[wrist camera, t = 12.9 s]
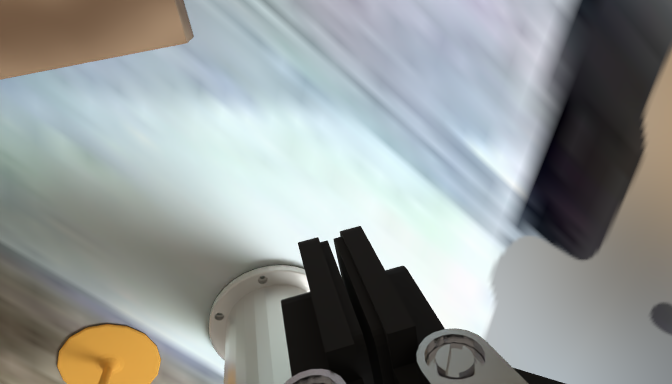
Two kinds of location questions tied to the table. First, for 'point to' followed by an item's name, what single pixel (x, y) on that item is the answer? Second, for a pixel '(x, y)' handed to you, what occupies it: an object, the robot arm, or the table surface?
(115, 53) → the tan wooden board
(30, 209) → the table surface
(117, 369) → the cup
